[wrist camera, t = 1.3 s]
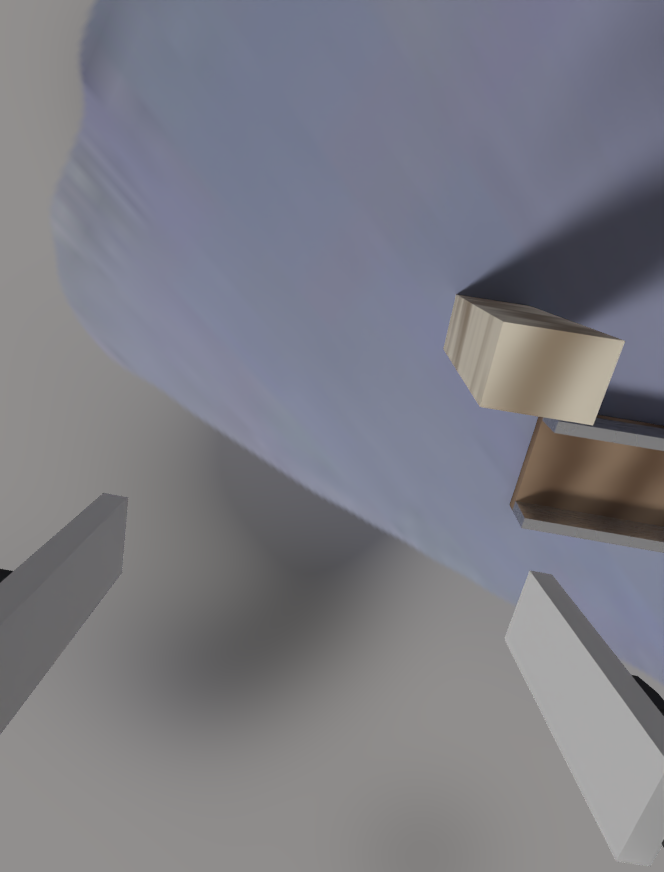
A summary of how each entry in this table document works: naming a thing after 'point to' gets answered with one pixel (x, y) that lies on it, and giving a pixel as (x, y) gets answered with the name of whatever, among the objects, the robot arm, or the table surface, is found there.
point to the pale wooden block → (530, 359)
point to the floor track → (594, 482)
